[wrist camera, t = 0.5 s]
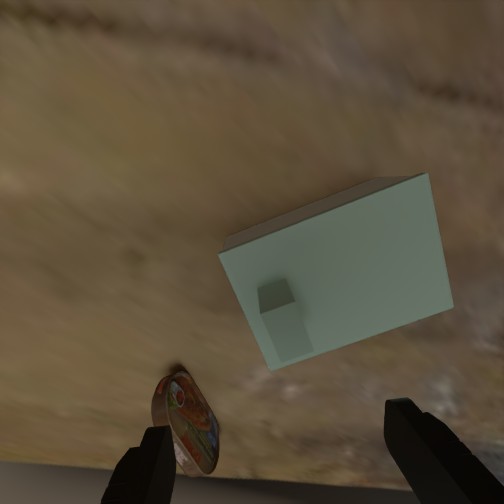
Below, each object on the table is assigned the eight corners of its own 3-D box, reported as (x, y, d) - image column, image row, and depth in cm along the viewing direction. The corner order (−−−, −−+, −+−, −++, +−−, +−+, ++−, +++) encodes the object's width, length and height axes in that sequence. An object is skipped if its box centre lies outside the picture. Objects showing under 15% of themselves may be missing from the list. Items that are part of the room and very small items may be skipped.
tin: (223, 429, 41) (217, 489, 33) (205, 435, 42) (196, 496, 33) (181, 357, 37) (163, 406, 29) (162, 365, 38) (139, 415, 30)
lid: (410, 173, 25) (477, 169, 18) (436, 296, 29) (501, 335, 21) (220, 248, 26) (211, 272, 19) (268, 356, 30) (275, 411, 23)
